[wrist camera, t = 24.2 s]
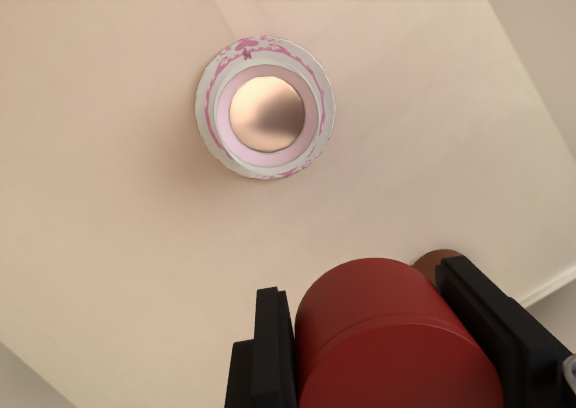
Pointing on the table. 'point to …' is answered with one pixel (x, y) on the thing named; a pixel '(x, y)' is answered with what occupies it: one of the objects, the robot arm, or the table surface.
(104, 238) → the table surface
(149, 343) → the table surface
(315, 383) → the cap
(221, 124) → the teacup
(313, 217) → the table surface
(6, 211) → the table surface
